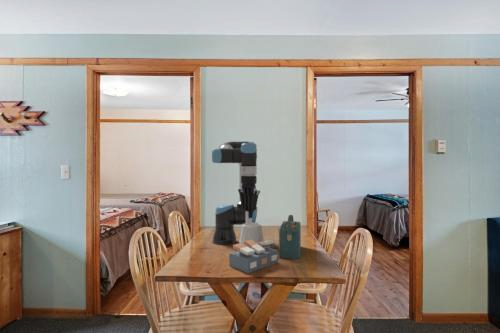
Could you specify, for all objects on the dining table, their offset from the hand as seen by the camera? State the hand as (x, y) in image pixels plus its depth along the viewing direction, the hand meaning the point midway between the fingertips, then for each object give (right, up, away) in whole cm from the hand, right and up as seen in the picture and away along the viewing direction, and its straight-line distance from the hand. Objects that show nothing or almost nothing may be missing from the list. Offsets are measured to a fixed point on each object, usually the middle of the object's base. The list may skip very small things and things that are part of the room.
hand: (248, 224), depth 129 cm
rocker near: (-2, -12, -4) cm, 13 cm away
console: (+3, -19, +1) cm, 20 cm away
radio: (+24, -20, +21) cm, 37 cm away
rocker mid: (+3, -12, +1) cm, 12 cm away
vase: (+2, -20, +22) cm, 30 cm away
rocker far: (+8, -12, +6) cm, 15 cm away
